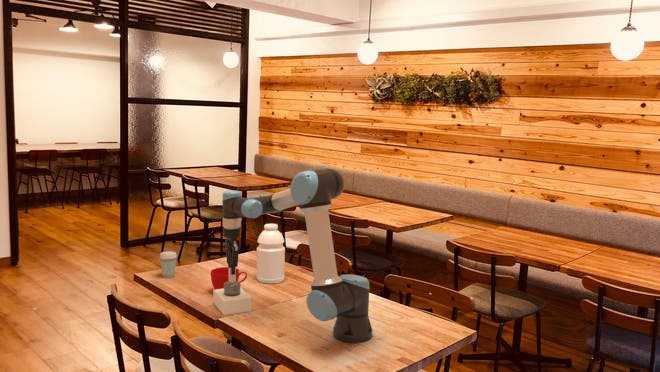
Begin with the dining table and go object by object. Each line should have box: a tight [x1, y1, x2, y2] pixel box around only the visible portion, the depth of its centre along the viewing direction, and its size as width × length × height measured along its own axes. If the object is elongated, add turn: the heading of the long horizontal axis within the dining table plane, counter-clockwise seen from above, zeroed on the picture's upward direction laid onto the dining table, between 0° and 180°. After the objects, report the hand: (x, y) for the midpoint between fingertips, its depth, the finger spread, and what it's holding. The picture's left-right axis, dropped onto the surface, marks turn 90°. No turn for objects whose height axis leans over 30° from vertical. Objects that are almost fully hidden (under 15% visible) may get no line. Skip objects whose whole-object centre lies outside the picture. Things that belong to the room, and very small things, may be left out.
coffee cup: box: [158, 251, 178, 279], centre depth 289 cm, size 8×8×12 cm
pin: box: [224, 281, 241, 296], centre depth 248 cm, size 7×7×10 cm
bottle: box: [255, 223, 286, 285], centre depth 286 cm, size 14×14×28 cm
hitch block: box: [212, 286, 252, 316], centre depth 248 cm, size 16×12×6 cm
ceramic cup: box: [210, 266, 248, 290], centre depth 268 cm, size 13×17×10 cm
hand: (232, 281), depth 247 cm, fingers closed
